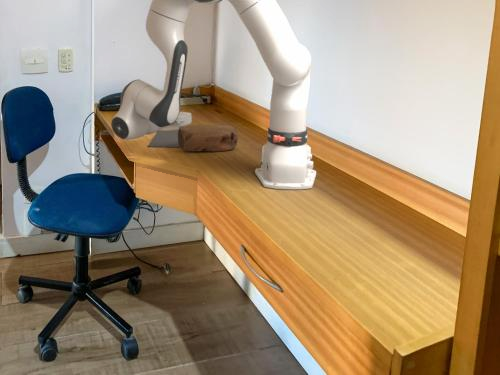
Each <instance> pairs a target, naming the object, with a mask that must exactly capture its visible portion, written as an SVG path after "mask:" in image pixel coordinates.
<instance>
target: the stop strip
mask: <svg viewBox="0 0 500 375" xmlns="http://www.w3.org/2000/svg"><path fill="white" fill-rule="evenodd" d="M188 125H189V124H188ZM188 125H184V126H188ZM180 127H181V126H166V127H163V129H162V130H160V131H178V130H179V128H180Z"/></svg>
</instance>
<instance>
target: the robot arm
mask: <svg viewBox="0 0 500 375" xmlns="http://www.w3.org/2000/svg"><path fill="white" fill-rule="evenodd" d="M222 1H223V0H152V1H151V4H150V6H149V10H148V13H147V16H146V20H145V30H146V33H147V34H146V35H147V36H148V38H149V39H150V41H151V42H152V43H153V44H154V45H155V46H156V47H157V49H158V50H159V51H160V52H161V54H162V55H163V57H164V59H165V61H166V62H165V63H166V73H165V78H164V85H163V89H162V90H161V89H159V88H157V87H156V86H153V85H151V84H150V83H148V82H146V81H144V80H141V79H139V78H138V79H134V80H131V81H130V82H128V84H126V85H125V86H124V87H123V89H122V91H121V94H120V107H119V110H118V111H117V112H116V114H115V115H114V116H113V117H112V119H111V124H110V125H111V129H112V131H113V133H114V134H115V135H116V136H117V137H118V138H119V139H121V140H125V141H126V140H127V141H128V140H129V141H130V140H134V139H139V138H142V137H144V136H145V135H151V134H156V133H157V132H158V131H160V130H162V129H163V127H166V126H184V125H191V124H192V122H193V121H192V120H193V116H192V113H191V112H187V111H180V110H181V94H182V89H183V84H184V83H183V82H184V78H185V72H186V67H187V62H188V59H187V58H188V49H189V48H188V45H187V43H186V41H185V27H186V22H187V20H188V16H189V13H190V11H191V9H192V7H193V6H194V5H195V4H197V3H200V4H202V3H203V4H207V5H213V4H217V3H221V2H222ZM227 1H228V2H229V3H230V5H232V7H233V8H234V10H235V12H236V13H237V15H238V16H239V18H240V20H241V21H242V23H243V25H244V26H245V27H246V30H247V31H248V33H249V34H250V35H249V36H251V38H252V40H253V41H254V43H255V46H256V48H257V50H258V52H259V54H260V56H261V58H262V60H263V63H264V64H265V66H266V68H267V69H268V71H269V74H270V76H271V78H272V89H271V95H270V96H271V97H270V98H271V99H270V105H269V106H270V107H269V108H270V109H269V127H268V128H267V132H266V134H267V142H266V143H265V144H264V145H262V151H261V161H260V162H261V163H260V164H261V165H260V167H257V168H255V169H254V173H255V175H256V176H257V178H258V179H259V181H260V183H261V184H262V185H263V187H264V188H265V187H266V188H269V189H277V190H308V189H312V188H313V186H314V182H315V179H316V176H317V171H316V170H315V169H314V161H313V160H312V159H313V153H311V152H312V151H311V149H312V148H311V147H310V145H308V144H307V143H308V129H307V119H308V106H309V105H308V104H309V103H308V101H309V95H310V94H309V92H310V83H311V82H310V81H311V80H310V79H311V68H312V56H311V53H310V51H309V49H307V48H306V47H305V45H303V44H301V43H299V42H298V39H297V38H296V36H295V33H294V32H293V30H292V28H291V26H290V24H289V21H288V19H287V17H286V15H285V14H284V12H283V10H282V9H281V7H280V6H279V4H278V2H277V1H276V0H227Z"/></svg>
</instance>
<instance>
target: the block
mask: <svg viewBox="0 0 500 375" xmlns="http://www.w3.org/2000/svg"><path fill="white" fill-rule="evenodd" d="M238 135H239V134H238V131H237V129H236V128H235V127H234V126H233V125H223V124H222V125H221V124H195V125H193V124H192V125H191V124H188V126H181V127H180V128H179V130H178V144H179V146H180V148H179V149H181V150H182V151H187V152H199V151H200V152H213V153H214V152H227V151H230V150H233V149H235V148H236V147H237V146H238V141H239V136H238Z"/></svg>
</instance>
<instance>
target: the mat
mask: <svg viewBox="0 0 500 375" xmlns="http://www.w3.org/2000/svg"><path fill="white" fill-rule="evenodd" d="M147 148H159V149H160V148H162V149H164V148H166V149H170V148H171V149H181V148H180V146H179V144H178V131H158V132H155V133H154V136H153V137H152V139H151V140H150V142H149V143H148V145H147Z"/></svg>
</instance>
